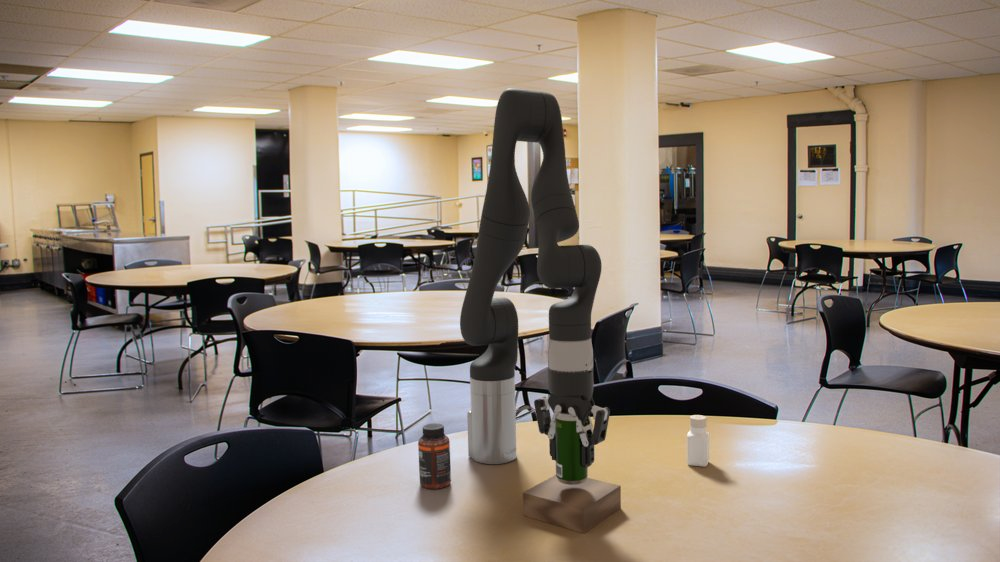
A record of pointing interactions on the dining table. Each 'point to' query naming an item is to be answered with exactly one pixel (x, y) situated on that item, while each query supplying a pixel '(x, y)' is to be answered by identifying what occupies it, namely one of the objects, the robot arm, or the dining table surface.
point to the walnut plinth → (572, 503)
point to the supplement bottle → (434, 457)
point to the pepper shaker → (698, 442)
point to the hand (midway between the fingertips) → (571, 462)
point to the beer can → (568, 450)
